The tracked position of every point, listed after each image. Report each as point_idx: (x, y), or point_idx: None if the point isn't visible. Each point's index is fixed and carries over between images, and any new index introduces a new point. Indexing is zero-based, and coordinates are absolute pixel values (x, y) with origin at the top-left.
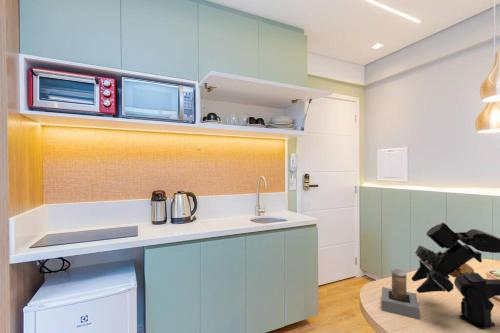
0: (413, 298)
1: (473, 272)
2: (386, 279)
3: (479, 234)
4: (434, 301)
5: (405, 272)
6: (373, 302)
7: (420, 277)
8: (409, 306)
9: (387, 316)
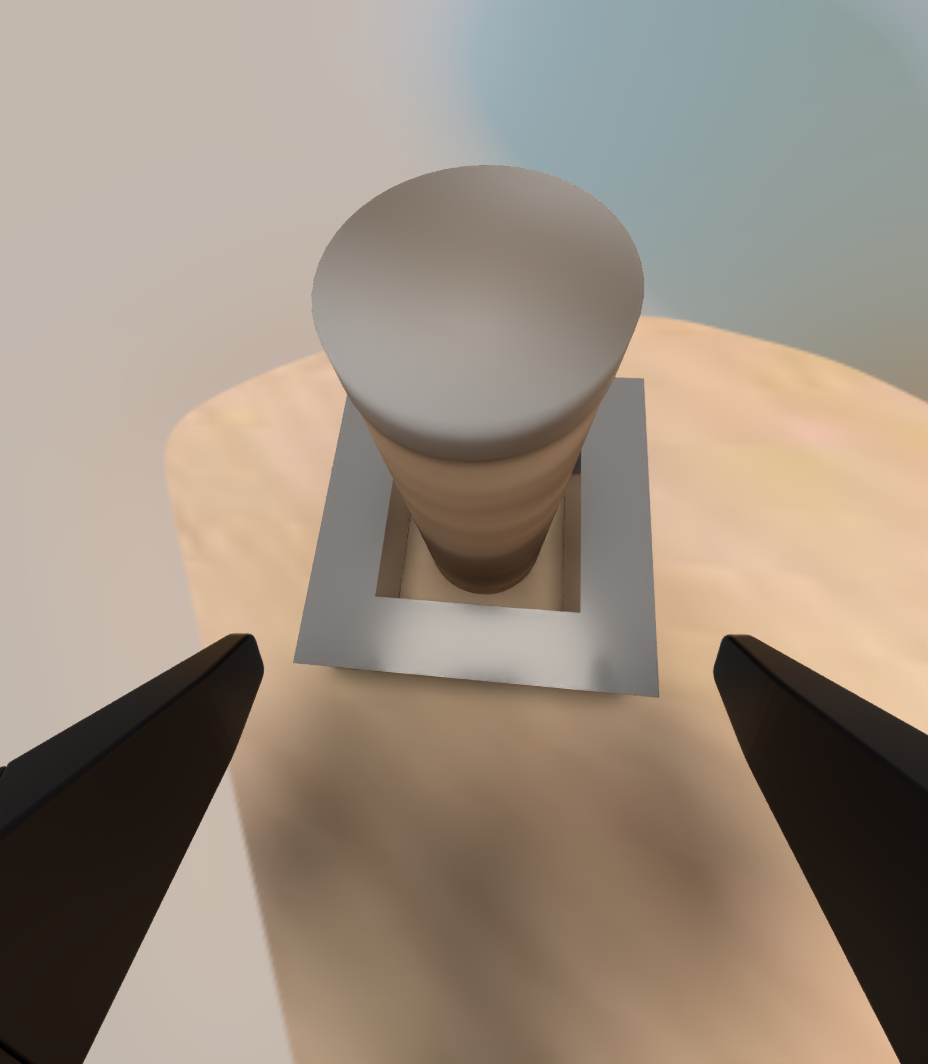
0: (509, 647)
1: None
2: None
3: None
4: (782, 915)
5: (504, 406)
6: None
7: (813, 836)
8: (310, 578)
9: (302, 450)
